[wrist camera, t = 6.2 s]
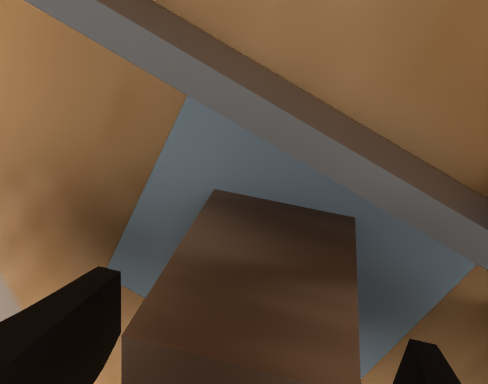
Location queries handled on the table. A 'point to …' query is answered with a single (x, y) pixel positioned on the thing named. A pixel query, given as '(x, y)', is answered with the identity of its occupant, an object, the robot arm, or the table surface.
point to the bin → (284, 117)
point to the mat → (290, 192)
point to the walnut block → (251, 300)
